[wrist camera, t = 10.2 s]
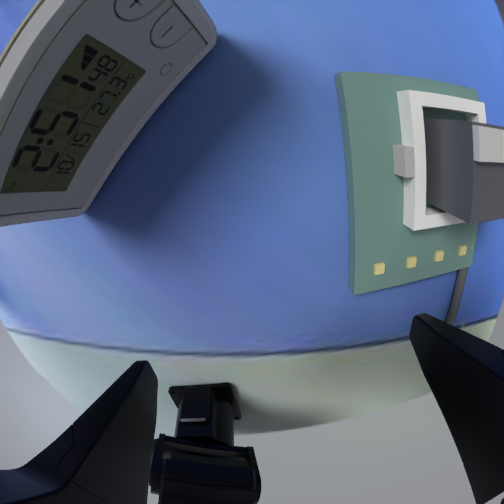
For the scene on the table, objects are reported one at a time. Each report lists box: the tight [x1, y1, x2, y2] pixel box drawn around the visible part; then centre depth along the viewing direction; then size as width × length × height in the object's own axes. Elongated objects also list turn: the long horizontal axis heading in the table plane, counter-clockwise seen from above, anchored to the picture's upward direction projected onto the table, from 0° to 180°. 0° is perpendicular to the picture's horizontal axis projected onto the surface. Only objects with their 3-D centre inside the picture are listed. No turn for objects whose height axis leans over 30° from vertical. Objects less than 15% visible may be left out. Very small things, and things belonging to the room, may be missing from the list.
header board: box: [334, 72, 486, 295], centre depth 17 cm, size 16×13×3 cm
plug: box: [424, 119, 504, 224], centre depth 14 cm, size 6×4×6 cm
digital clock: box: [0, 0, 217, 227], centre depth 10 cm, size 16×9×11 cm, turn 126°
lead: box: [446, 267, 468, 326], centre depth 22 cm, size 12×1×1 cm, turn 8°
